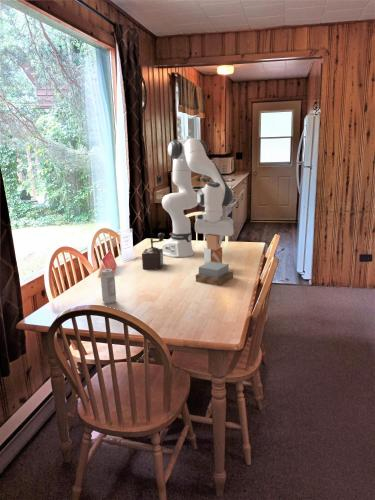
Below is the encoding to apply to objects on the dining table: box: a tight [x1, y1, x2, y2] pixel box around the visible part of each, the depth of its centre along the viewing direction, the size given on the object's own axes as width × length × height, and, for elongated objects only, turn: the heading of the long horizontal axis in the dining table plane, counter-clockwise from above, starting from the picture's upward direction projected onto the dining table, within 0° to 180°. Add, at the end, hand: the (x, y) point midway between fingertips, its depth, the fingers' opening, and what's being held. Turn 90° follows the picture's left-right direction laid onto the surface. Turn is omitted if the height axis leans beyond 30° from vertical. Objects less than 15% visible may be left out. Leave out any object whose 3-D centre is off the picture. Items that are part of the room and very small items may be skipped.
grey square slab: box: [198, 262, 229, 278], centre depth 206 cm, size 11×11×4 cm
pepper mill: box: [141, 232, 165, 270], centre depth 232 cm, size 16×11×18 cm
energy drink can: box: [100, 268, 117, 304], centre depth 181 cm, size 6×6×15 cm
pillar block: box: [206, 234, 222, 250], centre depth 202 cm, size 5×5×7 cm
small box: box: [203, 246, 223, 265], centre depth 221 cm, size 8×6×13 cm
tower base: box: [195, 270, 234, 287], centre depth 207 cm, size 14×14×4 cm
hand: (214, 243), depth 202 cm, fingers closed on pillar block, 5 cm apart
